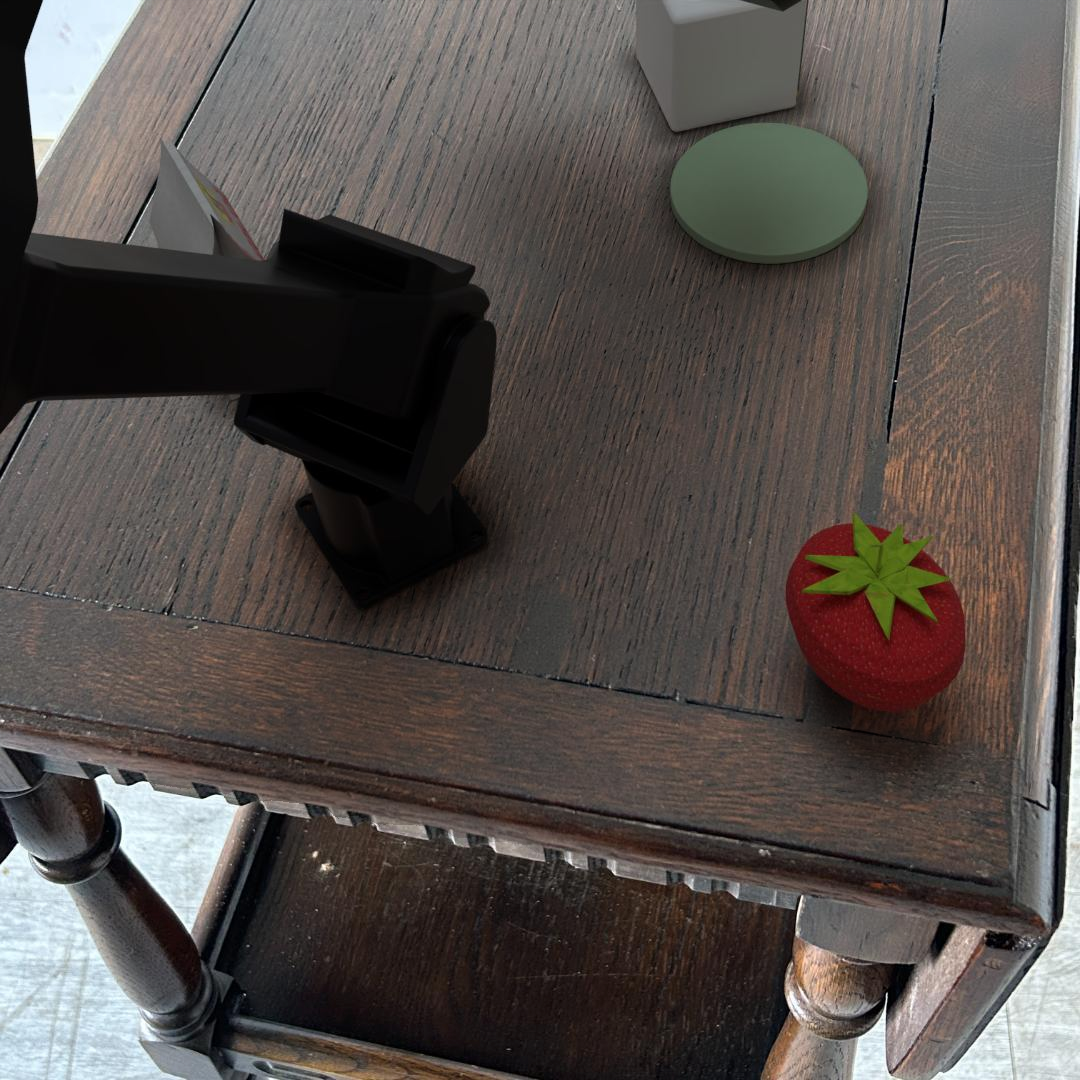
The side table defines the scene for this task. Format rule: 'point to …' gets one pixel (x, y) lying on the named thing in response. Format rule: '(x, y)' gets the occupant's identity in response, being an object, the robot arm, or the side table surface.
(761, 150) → the coaster
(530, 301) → the side table surface
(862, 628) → the strawberry
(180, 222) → the tea bag
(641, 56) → the medicine bottle
